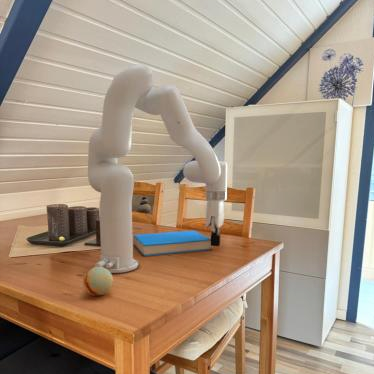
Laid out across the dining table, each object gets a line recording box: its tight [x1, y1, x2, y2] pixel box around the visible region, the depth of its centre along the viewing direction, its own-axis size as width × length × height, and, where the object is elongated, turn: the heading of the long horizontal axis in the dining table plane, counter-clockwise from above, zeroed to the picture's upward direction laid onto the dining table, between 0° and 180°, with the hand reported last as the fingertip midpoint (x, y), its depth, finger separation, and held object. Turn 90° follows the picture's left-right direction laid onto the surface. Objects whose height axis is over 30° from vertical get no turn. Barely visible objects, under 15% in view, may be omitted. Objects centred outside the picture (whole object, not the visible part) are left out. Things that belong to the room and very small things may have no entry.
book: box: [133, 230, 212, 257], centre depth 131 cm, size 17×4×25 cm
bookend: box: [84, 218, 101, 247], centre depth 139 cm, size 14×9×10 cm, turn 163°
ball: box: [82, 266, 114, 297], centre depth 85 cm, size 7×7×7 cm
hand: (215, 245), depth 129 cm, fingers closed
